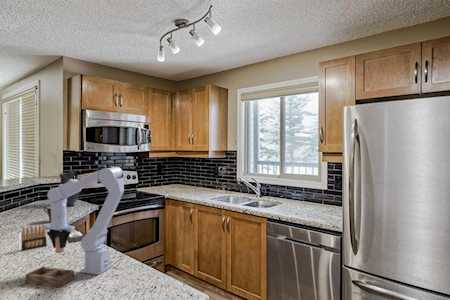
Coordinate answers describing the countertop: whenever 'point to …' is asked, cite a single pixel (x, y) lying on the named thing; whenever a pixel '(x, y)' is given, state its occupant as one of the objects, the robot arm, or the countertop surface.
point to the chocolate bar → (76, 236)
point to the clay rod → (58, 246)
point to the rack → (50, 276)
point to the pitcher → (64, 179)
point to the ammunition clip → (33, 238)
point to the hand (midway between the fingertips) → (59, 247)
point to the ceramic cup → (48, 212)
